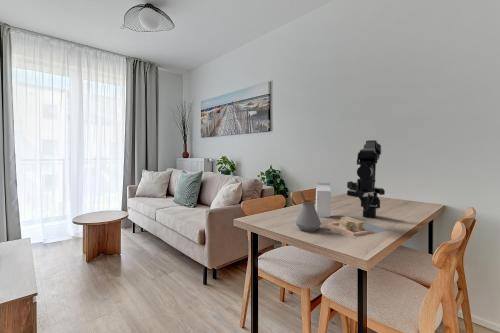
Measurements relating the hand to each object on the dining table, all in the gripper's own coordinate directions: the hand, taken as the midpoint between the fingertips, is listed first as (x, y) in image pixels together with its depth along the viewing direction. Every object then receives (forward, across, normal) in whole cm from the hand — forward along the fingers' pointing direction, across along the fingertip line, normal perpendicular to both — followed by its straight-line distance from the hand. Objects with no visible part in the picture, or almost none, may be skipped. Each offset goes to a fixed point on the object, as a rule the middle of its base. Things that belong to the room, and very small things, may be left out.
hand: (365, 210), depth 115 cm
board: (+8, +5, 0) cm, 10 cm away
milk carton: (+9, +4, -24) cm, 26 cm away
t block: (+8, +10, 0) cm, 13 cm away
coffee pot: (+9, +23, -15) cm, 29 cm away
